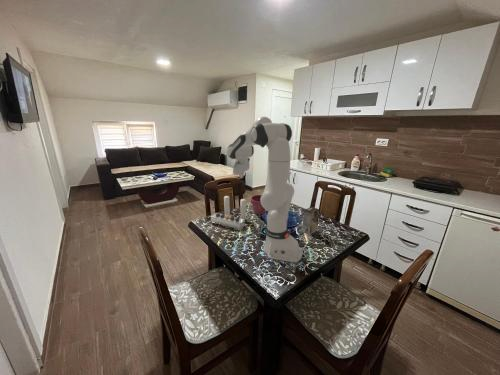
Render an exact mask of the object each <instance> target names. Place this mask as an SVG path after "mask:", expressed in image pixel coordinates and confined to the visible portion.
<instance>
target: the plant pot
mask: <svg viewBox="0 0 500 375" xmlns="http://www.w3.org/2000/svg"><path fill="white" fill-rule="evenodd" d="M261 196H262V194H256V195H252V196H251V197H250V204H251V205H252V209H253V210H252V211H253V214H255V215H257V214H259V215H258V216H261V215H260V214H262V213H264V212H265V213H266V211H267V210H266V209H264V208H263V207H262V205H261V202H260V199H261ZM265 213H264V214H265ZM262 215H263V214H262Z"/></svg>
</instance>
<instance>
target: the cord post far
mask: <svg viewBox="0 0 500 375" xmlns="http://www.w3.org/2000/svg"><path fill="white" fill-rule="evenodd" d="M223 204H224V209H223V210H224V214H225V215H230V216H231V211H230V210H231V208H230V206H231V205H230V196H229V195H225V196H224V197H223Z"/></svg>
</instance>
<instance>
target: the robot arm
mask: <svg viewBox="0 0 500 375" xmlns="http://www.w3.org/2000/svg"><path fill="white" fill-rule="evenodd" d="M292 136H293V130H292V127H291V126H290V125H289V124H287V123H283V122H281V123H276V122H272V120H271V119H270V118H269V117H267V116H260V117H258V118H257V119H256V120H255V122H253V124H252V125H251V127H250V128H249V129H248V130H246V131H245V132H243V133H242V134H240V135H239V136H238V137H237V138H236V139H235V140H234V141H233V142H232V143H231V144H229V145H228V147H227V149H226V154H227V156H228V157H229V158H230V159H231V160H235V162H234V164H233V166H232V174H233V175H235V176H238V175H239V179H243V178H244V176H245V172H246V171H249V169H250V162H251V157H253V155H254V152H255V148H254V146H259V147H261V148H264V147H265V146H266V148H267V149H268V157H267V161H268V162H267V177H266V183H265V187H264V190H263V192H262V194H261V195H262V196H261V199H260V202H261V205H262V207H263V208H264V209H266V211H268V212H267V215H266V228H265V241H264V244H263V248H262V249H263V252H264V253H265V254H266V255H267V257H268V259H270V260H271V259H272V260H277V261H283V262H289V263H290V262H291V263H298V262H299V261H300V260H301V259H302V257H303V252H304V251H303V248H302V247H301V246H300V244H299V241H298V240H297V239H296V238H294V237H293V235H291V229H288V227H287V226H288V217H289V211H290V208H291V204H292V199H293V198H294V194H295V188H294V186H293V185H292V184H291V183H289V182H288V180H289V178H290V175H291V148H290V143H289V142H290V141H291V139H292Z"/></svg>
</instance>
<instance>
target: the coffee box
mask: <svg viewBox="0 0 500 375" xmlns="http://www.w3.org/2000/svg"><path fill="white" fill-rule="evenodd" d="M319 217H320V208H317V207H313V206H309V207H308V208H306V209H303V216H302V224H301V225H302V226H301V232H302V233H304V234H307V235H308V236H310V235H312V234H314V233H315V232H317V231H318V224H319Z"/></svg>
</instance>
